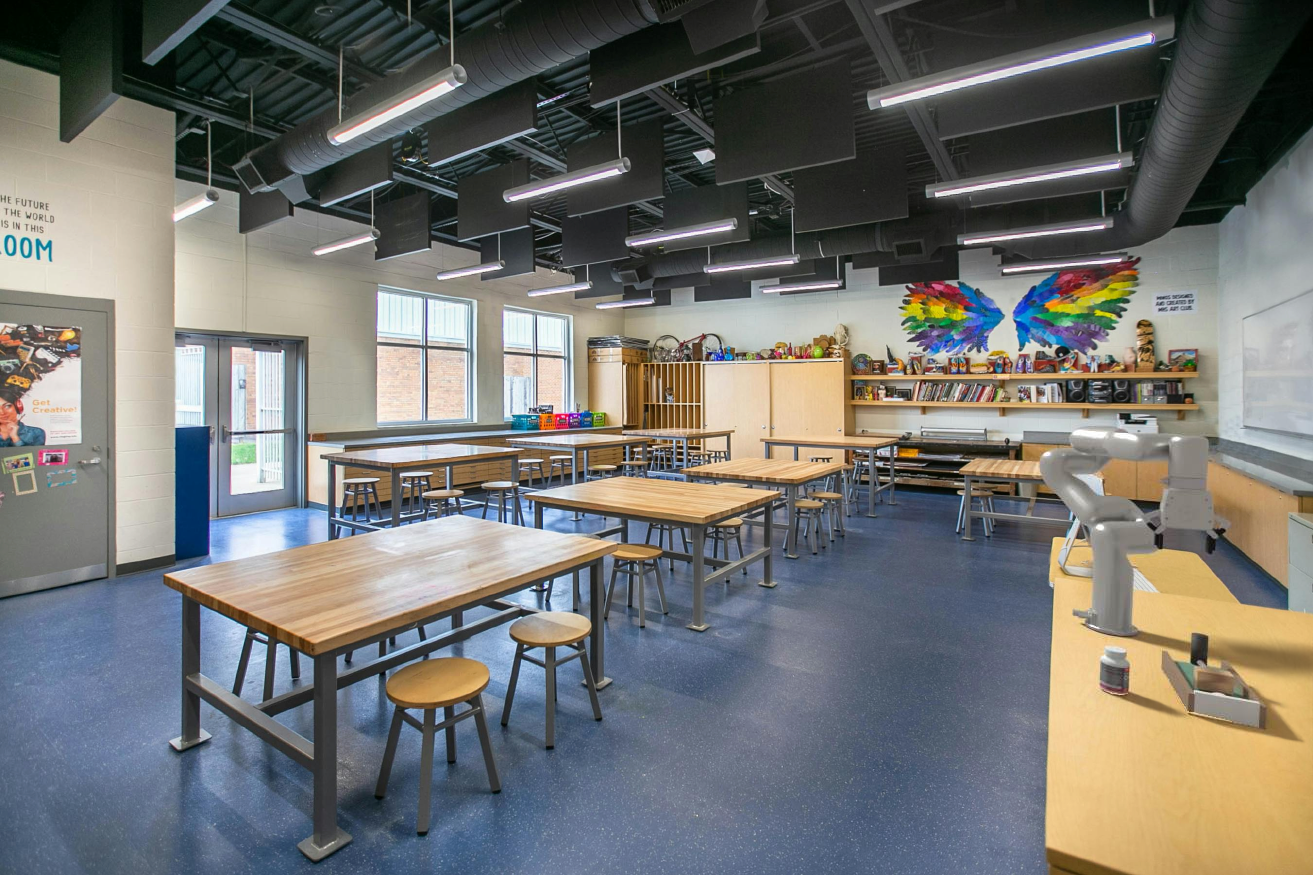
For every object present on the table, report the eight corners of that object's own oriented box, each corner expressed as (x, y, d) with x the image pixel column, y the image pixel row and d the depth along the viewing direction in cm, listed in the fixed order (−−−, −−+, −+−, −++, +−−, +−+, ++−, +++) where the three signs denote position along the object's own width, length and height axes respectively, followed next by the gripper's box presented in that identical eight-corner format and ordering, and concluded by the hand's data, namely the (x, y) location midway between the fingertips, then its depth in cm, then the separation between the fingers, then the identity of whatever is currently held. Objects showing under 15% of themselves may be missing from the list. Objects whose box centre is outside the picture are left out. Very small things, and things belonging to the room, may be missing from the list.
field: (1187, 713, 128) (1188, 690, 127) (1161, 668, 150) (1162, 648, 150) (1265, 728, 122) (1266, 704, 121) (1225, 679, 144) (1226, 658, 144)
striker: (1196, 688, 133) (1198, 652, 133) (1180, 663, 146) (1181, 630, 146) (1233, 694, 130) (1235, 658, 130) (1213, 669, 143) (1215, 635, 142)
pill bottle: (1130, 698, 134) (1132, 655, 134) (1100, 692, 137) (1102, 650, 137) (1126, 688, 139) (1127, 647, 139) (1097, 683, 142) (1099, 642, 141)
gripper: (1146, 483, 154) (1143, 549, 155) (1237, 488, 145) (1234, 558, 146) (1140, 480, 161) (1138, 544, 162) (1227, 484, 152) (1224, 551, 153)
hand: (1183, 550), depth 154 cm, fingers open, 9 cm apart
